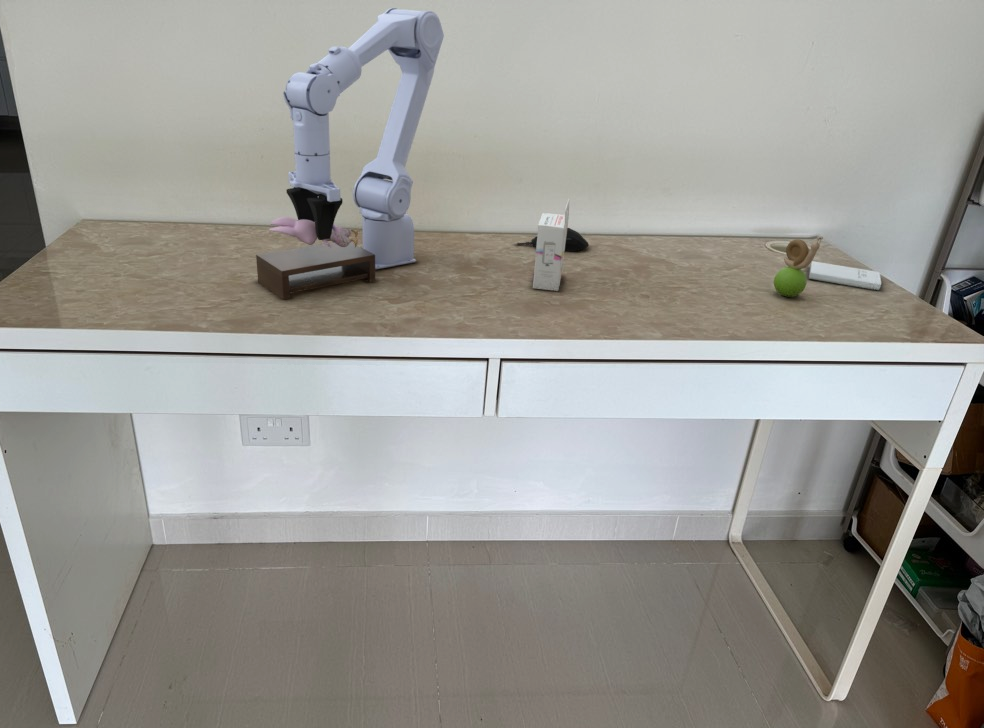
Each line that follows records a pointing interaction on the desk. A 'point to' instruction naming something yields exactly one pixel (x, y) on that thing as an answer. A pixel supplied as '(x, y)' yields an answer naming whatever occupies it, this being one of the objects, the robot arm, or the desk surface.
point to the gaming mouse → (567, 241)
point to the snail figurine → (795, 268)
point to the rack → (313, 267)
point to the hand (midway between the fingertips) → (315, 234)
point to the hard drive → (845, 275)
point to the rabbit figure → (311, 231)
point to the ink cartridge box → (550, 250)
